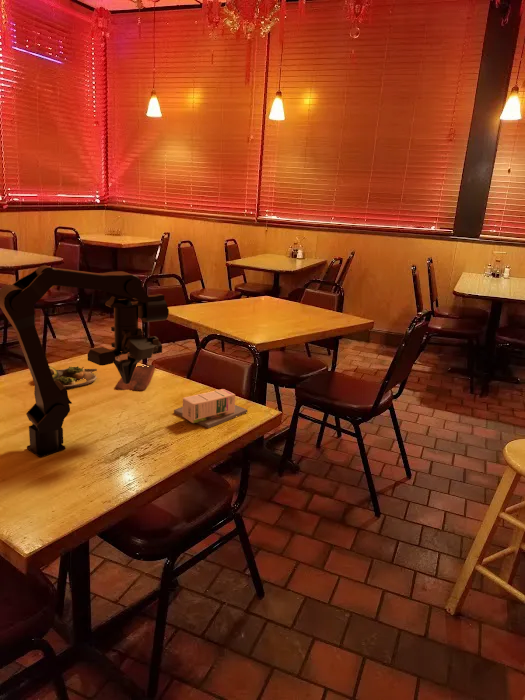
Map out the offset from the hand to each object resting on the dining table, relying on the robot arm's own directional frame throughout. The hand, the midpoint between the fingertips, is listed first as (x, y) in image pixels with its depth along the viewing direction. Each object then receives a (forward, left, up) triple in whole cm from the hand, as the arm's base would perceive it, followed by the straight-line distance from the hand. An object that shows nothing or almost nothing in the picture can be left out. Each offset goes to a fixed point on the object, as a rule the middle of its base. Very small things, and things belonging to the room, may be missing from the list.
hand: (126, 383), depth 130 cm
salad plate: (+8, +44, -14) cm, 47 cm away
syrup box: (+14, -7, -9) cm, 18 cm away
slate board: (+24, -7, -13) cm, 28 cm away
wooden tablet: (+28, +32, -14) cm, 44 cm away
